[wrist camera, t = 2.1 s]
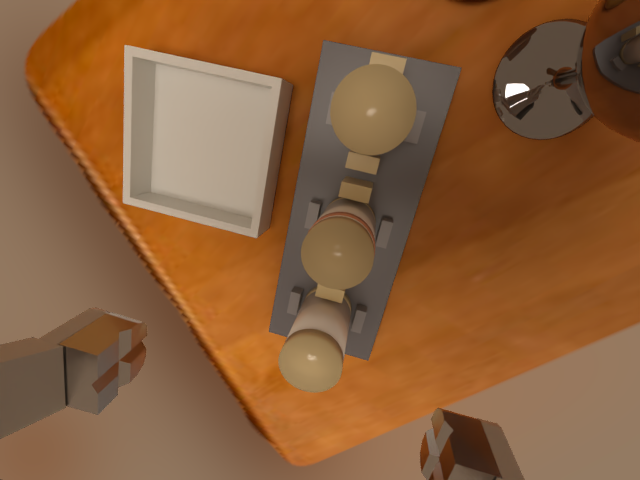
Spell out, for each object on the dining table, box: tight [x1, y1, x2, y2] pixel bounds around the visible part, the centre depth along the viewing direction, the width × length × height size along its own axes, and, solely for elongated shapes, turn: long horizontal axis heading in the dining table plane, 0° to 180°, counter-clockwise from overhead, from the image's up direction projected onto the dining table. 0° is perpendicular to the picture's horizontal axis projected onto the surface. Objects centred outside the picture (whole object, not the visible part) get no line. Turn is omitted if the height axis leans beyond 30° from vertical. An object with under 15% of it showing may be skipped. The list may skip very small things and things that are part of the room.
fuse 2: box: [330, 64, 417, 155], centre depth 19 cm, size 4×4×8 cm
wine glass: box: [492, 0, 640, 142], centre depth 15 cm, size 8×8×15 cm
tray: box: [123, 45, 293, 238], centre depth 25 cm, size 11×11×3 cm
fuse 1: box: [279, 287, 352, 392], centre depth 24 cm, size 4×4×8 cm
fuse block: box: [269, 40, 461, 360], centre depth 24 cm, size 9×23×4 cm, turn 168°
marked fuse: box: [301, 197, 376, 290], centre depth 22 cm, size 4×4×8 cm
